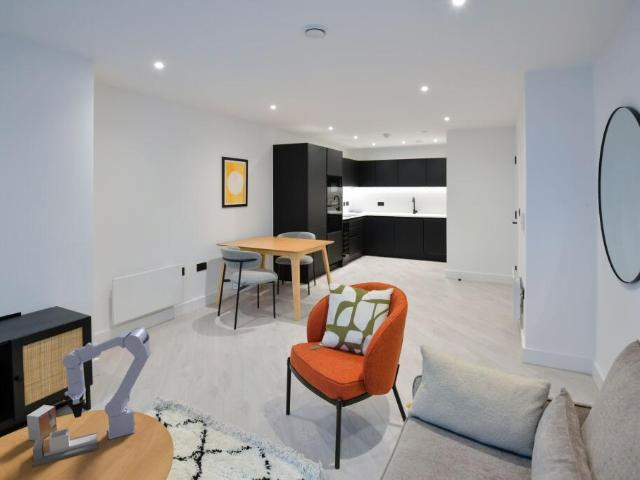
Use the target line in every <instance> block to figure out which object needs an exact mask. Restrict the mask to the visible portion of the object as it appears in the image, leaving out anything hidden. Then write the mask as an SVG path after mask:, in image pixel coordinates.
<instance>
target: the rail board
mask: <svg viewBox="0 0 640 480" xmlns="http://www.w3.org/2000/svg"><path fill="white" fill-rule="evenodd" d="M44 440H45V439H41V440H37V441H34V444H33V448H32V457H33V460H32V461H33V463H32V467H36V466H40V465H44V464H47V463H51V462H55V461H58V460H62V459H66V458H69V457H73V456H77V455H80V454H83V453H88V452H91V451H96V450H98V432H97V431H96V432H93V433H89V434H85V435H81V436H78V437H73V438H70V444H69V447H67V448H64V449H60V450H56V451H52V452H50V451H48V452H44V453H43V443H44Z"/></svg>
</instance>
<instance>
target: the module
mask: <svg viewBox="0 0 640 480" xmlns="http://www.w3.org/2000/svg"><path fill="white" fill-rule="evenodd" d="M48 439H49V447H50V452H52V451H56V450H60V449H64V448H67V447H69V444H70V439H71V437H70V428H65V429H59V430H56V431H55V432H52V433H50V435H49V436H48Z"/></svg>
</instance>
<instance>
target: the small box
mask: <svg viewBox="0 0 640 480" xmlns="http://www.w3.org/2000/svg"><path fill="white" fill-rule="evenodd" d="M56 414H57V413H56V406H53V405H46V404H43V405H42V406H40V407H39V408H37V409H36V410H34V411H32V412H31V413H29V414H27V415H26V421H27V423H26V424H27V431H28V433H27V434H28V440H30V441H34V442H35V441H37V440H41V439H44V440H46V438H48V437H49V436H50V433H52V432H56V431H58V425H57V415H56Z"/></svg>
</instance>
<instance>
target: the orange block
mask: <svg viewBox="0 0 640 480" xmlns="http://www.w3.org/2000/svg"><path fill="white" fill-rule="evenodd" d="M48 451H50V447H49V438H48V439H44V443H43V453H44V452H48Z"/></svg>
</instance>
